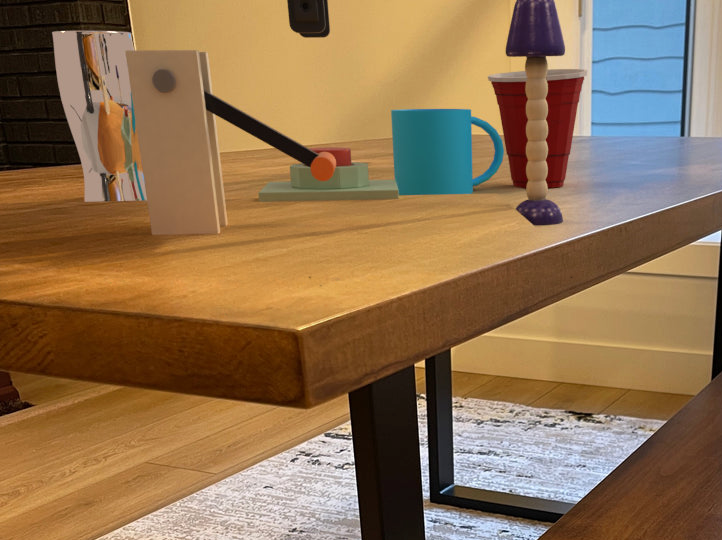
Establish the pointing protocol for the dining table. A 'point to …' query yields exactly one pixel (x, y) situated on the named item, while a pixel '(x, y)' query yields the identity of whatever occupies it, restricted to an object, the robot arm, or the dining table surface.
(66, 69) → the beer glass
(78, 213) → the dining table surface
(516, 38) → the toy lamp
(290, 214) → the dining table surface
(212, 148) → the bracket
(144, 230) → the dining table surface
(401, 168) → the mug
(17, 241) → the dining table surface
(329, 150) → the button
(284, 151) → the lever
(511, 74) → the plastic cup
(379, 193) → the button box
